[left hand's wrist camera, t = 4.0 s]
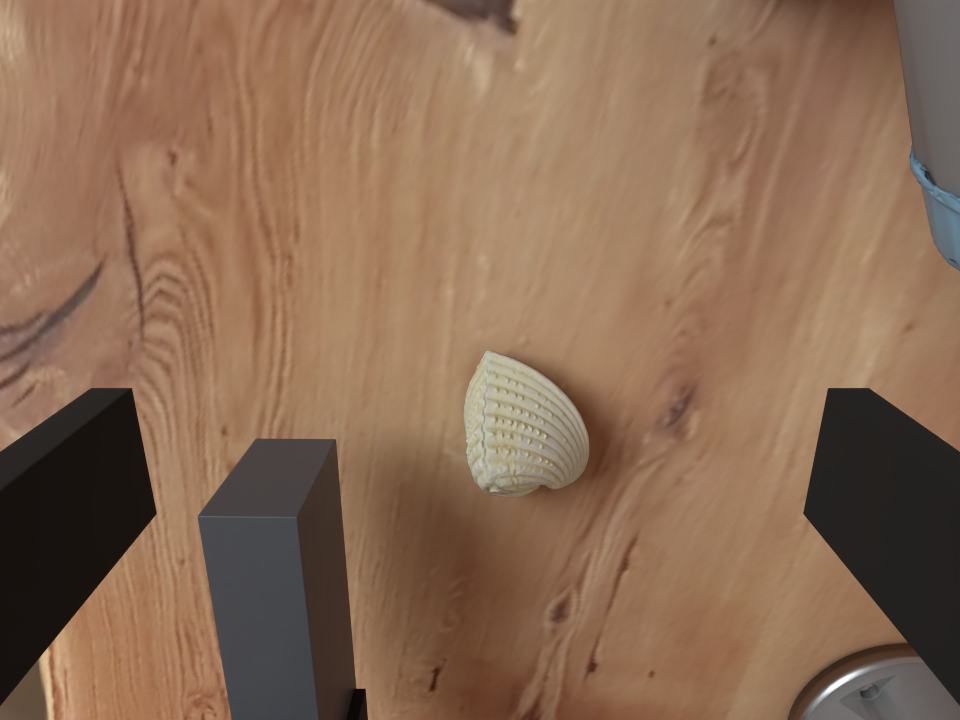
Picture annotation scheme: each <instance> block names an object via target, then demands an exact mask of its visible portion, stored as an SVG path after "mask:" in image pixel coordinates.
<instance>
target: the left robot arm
mask: <svg viewBox="0 0 960 720" xmlns="http://www.w3.org/2000/svg"><path fill="white" fill-rule="evenodd" d="M893 4H894V11H895V18H896V24H897V32H898V39H899V47H900V54H901V62H902V69H903V77H904V84H905V92H906V99H907V107H908V114H909V122H910V129H911V137H912V149H911V154H910V165H911V169H912V172H913V174H914V176H915V178H916V179H917V181H918V183H919V184H920V185H921V186H922V191H923V196H924V201H925V206H926V210H927V215H928V220H929V225H930V230H931V234H932V237H933V240H934V243H935V245H936V247H937V249H938V250H939V252H940V254H941V255H942V256H943V257H944V259H945V260H946V261H947V262H948V263H949V264H950V265H952V266H953V267H955V268H956V269H958V270H959V271H960V0H893ZM156 514H157V513H156V508H155V503H154V498H153V492H152V487H151V482H150V477H149V472H148V467H147V462H146V457H145V452H144V447H143V442H142V437H141V432H140V427H139V422H138V417H137V412H136V407H135V402H134V397H133V392H132V388H91V389H89V390H88V391H87V392H85V393H84V394H82V395H81V396H79V397H78V398H77V399H75V400H74V401H72V402H71V403H69V404H68V405H67V406H65V407H64V408H62V409H61V410H59V411H58V412H57V413H55V414H54V415H52V416H51V417H49V418H48V419H47V420H45V421H44V422H42V423H41V424H39V425H38V426H36V427H35V428H34V429H32V430H31V431H29V432H28V433H26V434H25V435H24V436H22V437H21V438H19V439H18V440H16V441H15V442H14V443H12V444H11V445H9V446H8V447H6V448H5V449H4V450H2V451H1V452H0V706H1V704H2V703H3V702H4V701H5V699H6V698H7V697H8V696H9V694H10V693H11V692H12V691H13V690H14V688H15V687H16V686H17V685H18V683H19V682H20V681H21V680H22V679H23V677H24V676H25V675H26V674H27V672H28V671H29V670H30V669H31V667H32V666H33V665H34V664H35V663H36V661H37V660H38V659H39V658H40V656H41V655H42V654H43V653H44V652H45V650H46V649H47V648H48V647H49V645H50V644H51V643H52V642H53V640H54V639H55V638H56V637H57V636H58V634H59V633H60V632H61V631H62V629H63V628H64V627H65V626H66V624H67V623H68V622H69V621H70V620H71V618H72V617H73V616H74V615H75V613H76V612H77V611H78V610H79V609H80V607H81V606H82V605H83V604H84V602H85V601H86V600H87V599H88V597H89V596H90V595H91V594H92V593H93V591H94V590H95V589H96V588H97V586H98V585H99V584H100V583H101V581H102V580H103V579H104V578H105V577H106V575H107V574H108V573H109V572H110V570H111V569H112V568H113V567H114V565H115V564H116V563H117V562H118V561H119V559H120V558H121V557H122V556H123V554H124V553H125V552H126V551H127V549H128V548H129V547H130V546H131V545H132V543H133V542H134V541H135V540H136V538H137V537H138V536H139V535H140V534H141V532H142V531H143V530H144V529H145V527H146V526H147V525H148V524H149V522H150V521H151V520H152V519H153V518H154V516H155V515H156ZM803 514H804V515H805V516H806V518H807V519H808V520H809V521H810V522H811V524H812V525H813V526H814V527H815V529H816V530H817V531H818V532H819V534H820V535H821V536H822V537H823V538H824V540H825V541H826V542H827V543H828V545H829V546H830V547H831V548H832V550H833V551H834V552H835V553H836V554H837V556H838V557H839V558H840V559H841V561H842V562H843V563H844V564H845V565H846V567H847V568H848V569H849V570H850V572H851V573H852V574H853V575H854V577H855V578H856V579H857V580H858V581H859V583H860V584H861V585H862V586H863V588H864V589H865V590H866V591H867V593H868V594H869V595H870V596H871V597H872V599H873V600H874V601H875V602H876V604H877V605H878V606H879V607H880V609H881V610H882V611H883V612H884V613H885V615H886V616H887V617H888V618H889V620H890V621H891V622H892V623H893V624H894V626H895V627H896V628H897V629H898V631H899V632H900V633H901V634H902V636H903V637H904V638H905V639H906V640H907V642H908V643H909V644H910V645H911V647H912V648H913V649H914V650H915V652H916V653H917V654H918V655H919V656H920V658H921V659H922V660H923V661H924V663H925V664H926V665H927V666H928V668H929V669H930V670H931V671H932V672H933V674H934V675H935V676H936V677H937V679H938V680H939V681H940V682H941V683H942V685H943V686H944V687H945V688H946V690H947V691H948V692H949V693H950V695H951V696H952V697H953V698H954V699H955V701H956V702H957V703H958V704H959V706H960V452H959V451H958V450H956V449H955V448H954V447H952V446H951V445H949V444H948V443H946V442H945V441H944V440H942V439H941V438H939V437H938V436H936V435H935V434H934V433H932V432H931V431H929V430H928V429H926V428H925V427H924V426H922V425H921V424H919V423H918V422H916V421H915V420H913V419H912V418H911V417H909V416H908V415H906V414H905V413H903V412H902V411H901V410H899V409H898V408H896V407H895V406H893V405H892V404H891V403H889V402H888V401H886V400H885V399H883V398H882V397H881V396H879V395H878V394H876V393H875V392H873V391H872V390H871V389H869V388H828V392H827V397H826V402H825V407H824V412H823V417H822V422H821V427H820V432H819V437H818V442H817V447H816V452H815V457H814V462H813V467H812V472H811V477H810V482H809V487H808V492H807V497H806V503H805V508H804V513H803Z"/></svg>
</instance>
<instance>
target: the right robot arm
mask: <svg viewBox="0 0 960 720" xmlns="http://www.w3.org/2000/svg"><path fill="white" fill-rule="evenodd" d="M347 720H368V715H367V702H366V689H354V692H353V696H352V700H351V704H350V708H349V712H348V716H347ZM788 720H960V706H959V704H958V703H957V702H956V701H955V699H954V698H953V697H952V696H951V695H950V693H949V692H948V691H947V690H946V688H945V687H944V686H943V685H942V683H941V682H940V681H939V680H938V679H937V677H936V676H935V675H934V674H933V672H932V671H931V670H930V669H929V668H928V666H927V665H926V664H925V663H924V661H923V660H922V659H921V658H920V656H919V655H918V654H917V653H916V652H915V650H914V649H913V648H912V647H911V645H910V644H893V645H885V646H879V647H874V648H870V649H866V650H863V651H860V652H857V653H854V654H852V655H849V656H847V657H845V658H843V659H841V660H839V661H837V662H835V663H834V664H832V665H830V666H829V667H827V668H826V669H824V670H823V671H821V672H820V673H819V674H818V675H817V676H815V677H814V678H813V679H812V680H811V681H810V682H809V683H808V684H807V685H806V686H805V687H804V689H803V690H802V691H801V692H800V694H799V695H798V697H797V698H796V700H795V702H794V704H793V706H792V708H791V710H790V713H789V717H788Z"/></svg>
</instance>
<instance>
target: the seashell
mask: <svg viewBox="0 0 960 720" xmlns="http://www.w3.org/2000/svg"><path fill="white" fill-rule="evenodd" d="M464 424H465V429H466V433H467V435H466V438H467V440H466V442H467V444H468V447H467V450H466V451H467V452H466V454H467V455H468V456H467V458H468V461H467V462H468V463H469V467H470V469H471V473H472V476H473V478H474V482H475V483H477V484H478V485H479V487H480V488H481V489H482V490H483V491H484V492H486V493H489V494H491V495H495V496H501V497H519V496H523V495H526V494H529V493H530V492H532V491H534V490H537V489H538V488H539V486H540V485H545V486H546V487H548V488H551V489H560V488H562V487H564V486H567V485H569V484H571V483H573V482H574V481H576V480H577V479H578V478H579V477H580V476H581V474H582V473H583V471H584V470H585V467H586V465H587V462H588V459H589V438H588V432H587V430H586V427H585V424H584V421H583V419H582V417H581V415H580V413H579V411H578V410H577V408H576V407H575V406H574V404H573V403H572V402H571V400H570V399H569V398H568V397H567V396H566V395H565V394H564V392H563V391H562V390H561V389H560V388H559V387H558V386H556V385H555V384H554V383H553V382H552V381H550V380H549V379H548V378H546V377H545V376H544V375H542V374H541V373H539V372H538V371H536V370H534V369H533V368H531V367H529V366H528V365H526V364H524V363H522V362H519V361H517V360H515V359H513V358H510V357H508V356H504V355H502V354H500V353H497V352H494V351H486V353H485V355H484V356H483V358H482V360H481V362H480V364H479V365H478V366H477V370H476V372H475V374H474V375H473V378H472V380H471V381H470V384H469V387H468V390H467V394H466V399H465V406H464Z"/></svg>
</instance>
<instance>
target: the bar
mask: <svg viewBox="0 0 960 720" xmlns="http://www.w3.org/2000/svg"><path fill="white" fill-rule="evenodd" d="M198 522H199V527H200V533H201V539H202V545H203V551H204V557H205V563H206V569H207V575H208V581H209V587H210V593H211V599H212V605H213V611H214V617H215V623H216V629H217V635H218V641H219V647H220V653H221V659H222V665H223V671H224V677H225V683H226V689H227V695H228V701H229V707H230V713H231V719H232V720H347V716H348V712H349V708H350V704H351V700H352V696H353V692H354V689H356V679H355V667H354V655H353V643H352V630H351V618H350V606H349V594H348V581H347V569H346V557H345V545H344V532H343V520H342V508H341V496H340V483H339V471H338V459H337V447H336V440H335V439H255V441H254V442H253V443H252V445H251V446H250V447H249V449H248V450H247V451H246V453H245V454H244V455H243V457H242V458H241V459H240V461H239V462H238V463H237V465H236V466H235V467H234V469H233V470H232V471H231V473H230V474H229V475H228V477H227V478H226V479H225V481H224V482H223V483H222V485H221V486H220V487H219V489H218V490H217V491H216V493H215V494H214V495H213V497H212V498H211V499H210V501H209V502H208V503H207V505H206V506H205V507H204V509H203V510H202V511H201V513H200V514H199V515H198Z"/></svg>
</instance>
